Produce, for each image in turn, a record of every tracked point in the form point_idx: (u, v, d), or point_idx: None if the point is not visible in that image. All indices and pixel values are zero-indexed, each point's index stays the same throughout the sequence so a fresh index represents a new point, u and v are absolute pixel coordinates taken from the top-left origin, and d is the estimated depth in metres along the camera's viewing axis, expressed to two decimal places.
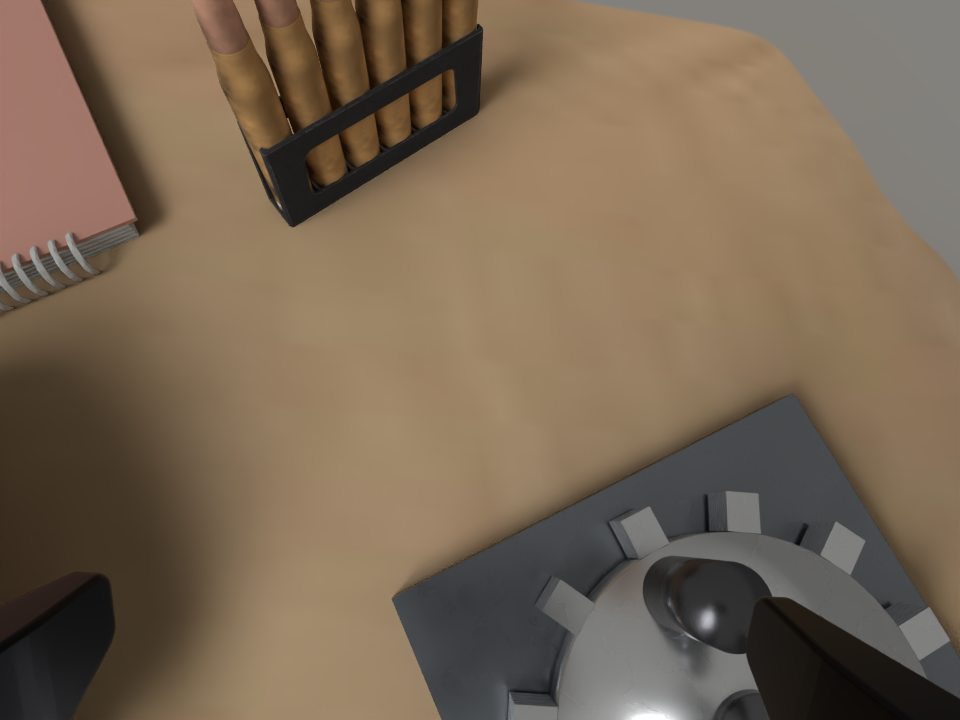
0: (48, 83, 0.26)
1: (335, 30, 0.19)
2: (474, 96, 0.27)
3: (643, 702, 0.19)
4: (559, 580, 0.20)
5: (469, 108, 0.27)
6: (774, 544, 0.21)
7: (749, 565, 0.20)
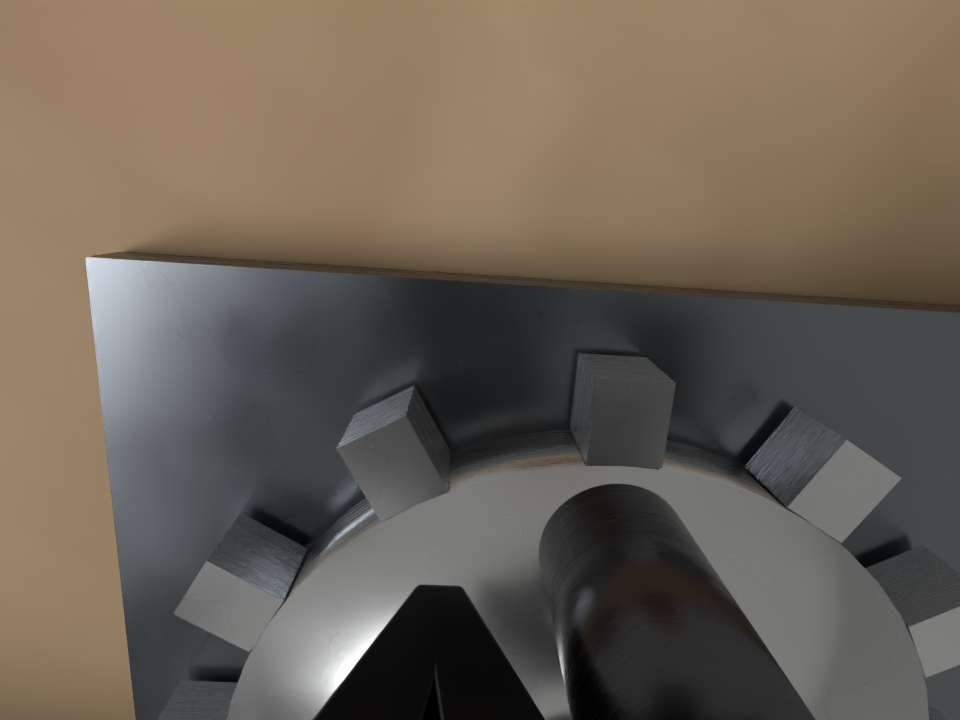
0: None
1: None
2: None
3: None
4: (404, 414, 0.09)
5: None
6: (848, 571, 0.10)
7: (775, 578, 0.10)
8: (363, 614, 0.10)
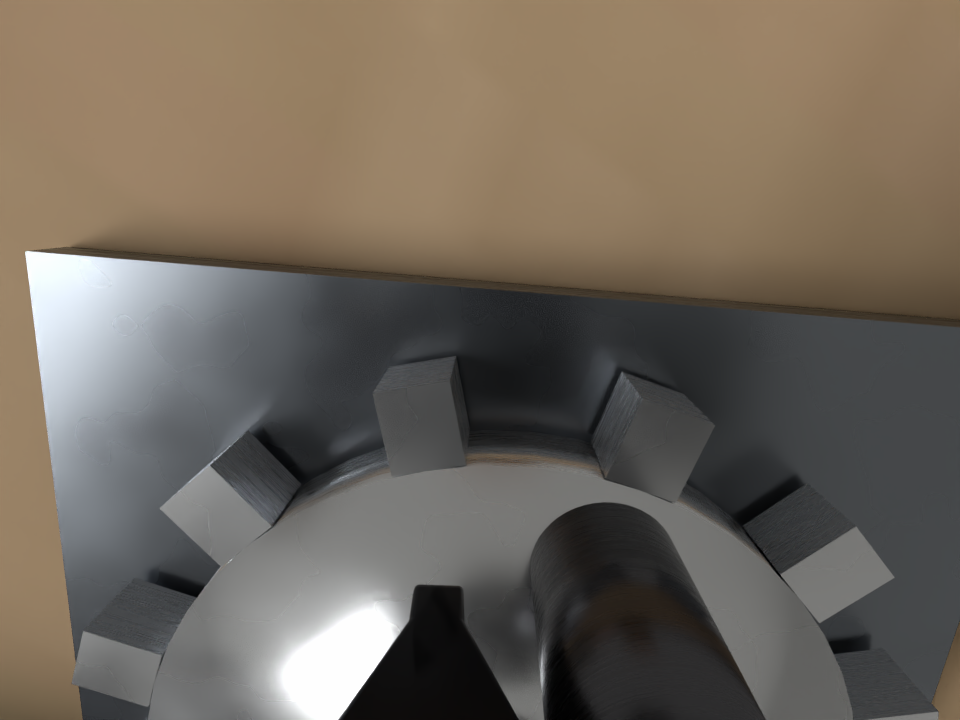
0: None
1: None
2: None
3: (399, 630, 0.10)
4: (447, 379, 0.09)
5: None
6: (817, 652, 0.10)
7: (746, 638, 0.10)
8: (345, 561, 0.10)
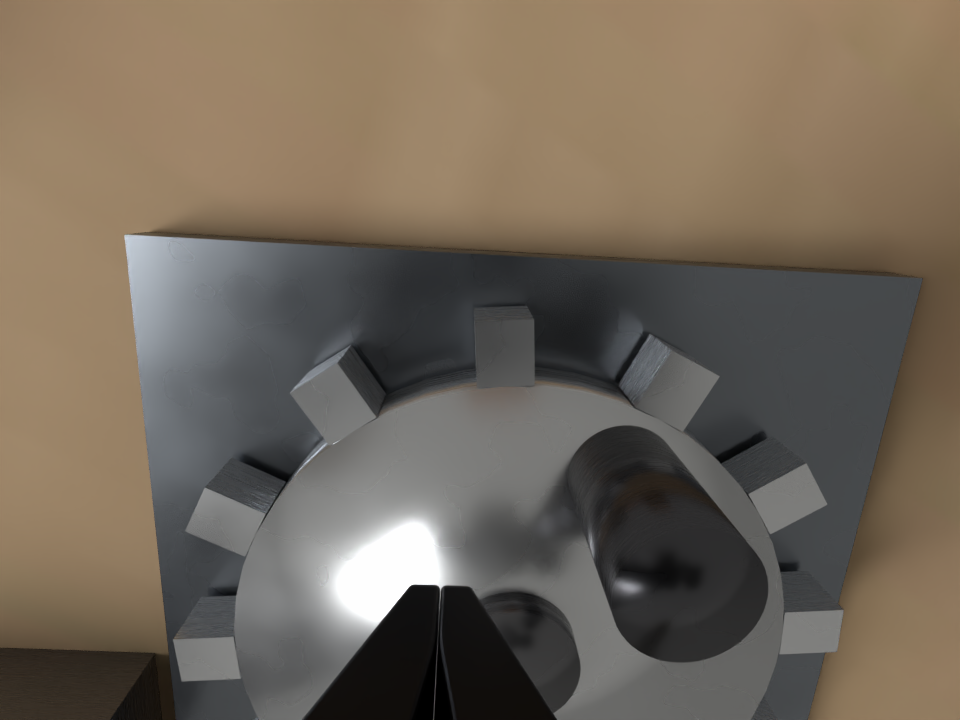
0: None
1: None
2: None
3: (460, 511, 0.13)
4: (531, 318, 0.12)
5: None
6: (765, 556, 0.13)
7: None
8: (428, 451, 0.12)
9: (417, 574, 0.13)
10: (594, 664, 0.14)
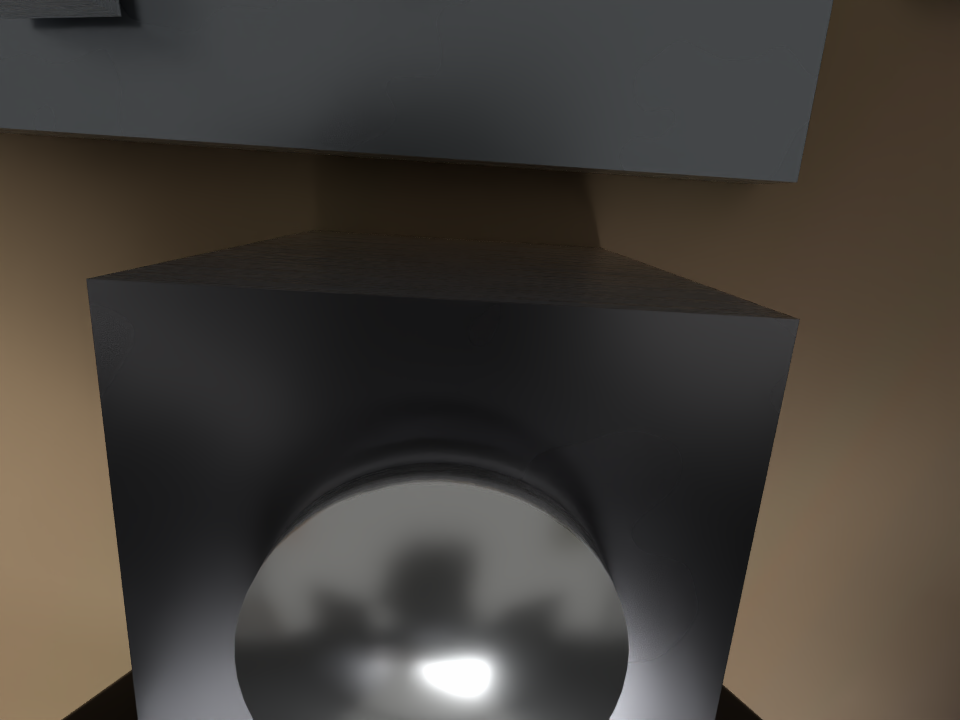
0: None
1: None
2: None
3: None
4: None
5: None
6: None
7: None
8: None
9: None
10: None
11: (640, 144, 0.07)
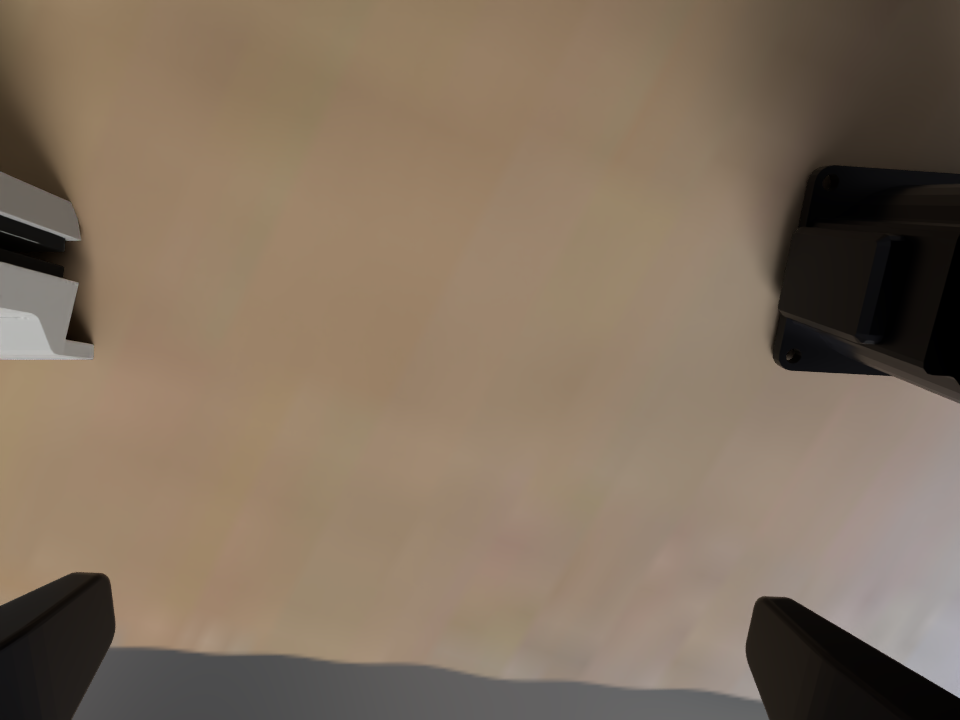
0: None
1: None
2: None
3: None
4: None
5: None
6: None
7: None
8: None
9: None
10: None
11: None
